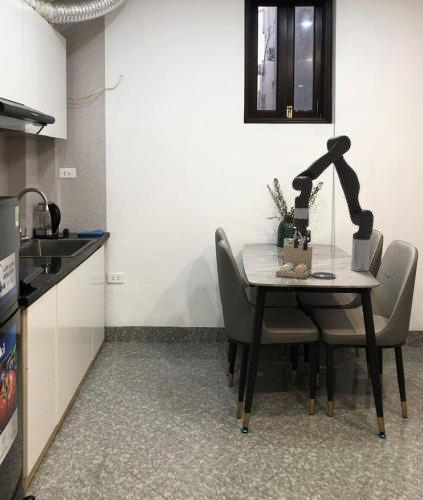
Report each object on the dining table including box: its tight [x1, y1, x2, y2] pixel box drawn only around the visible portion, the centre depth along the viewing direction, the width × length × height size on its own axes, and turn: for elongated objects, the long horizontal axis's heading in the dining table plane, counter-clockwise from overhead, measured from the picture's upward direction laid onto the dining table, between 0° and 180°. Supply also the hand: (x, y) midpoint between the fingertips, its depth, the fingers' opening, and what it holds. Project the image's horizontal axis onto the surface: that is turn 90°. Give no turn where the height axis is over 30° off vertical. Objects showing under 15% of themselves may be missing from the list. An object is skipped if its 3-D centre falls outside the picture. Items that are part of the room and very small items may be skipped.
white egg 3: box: [298, 264, 307, 271], centre depth 249 cm, size 5×5×5 cm
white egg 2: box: [285, 262, 294, 270], centre depth 252 cm, size 5×5×5 cm
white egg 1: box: [280, 264, 291, 272], centre depth 245 cm, size 5×5×5 cm
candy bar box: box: [282, 237, 303, 266], centre depth 263 cm, size 11×5×16 cm, turn 40°
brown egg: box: [294, 266, 304, 273], centre depth 243 cm, size 5×5×5 cm
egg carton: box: [275, 244, 313, 280], centre depth 247 cm, size 15×15×14 cm
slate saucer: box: [311, 271, 336, 280], centre depth 244 cm, size 11×11×1 cm
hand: (300, 249), depth 241 cm, fingers open, 8 cm apart
